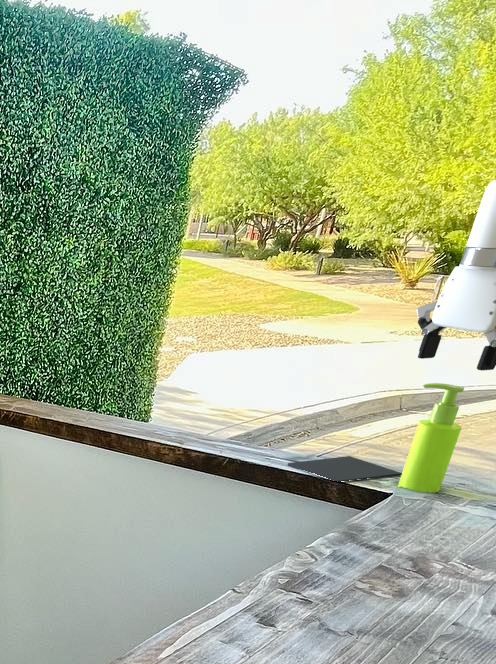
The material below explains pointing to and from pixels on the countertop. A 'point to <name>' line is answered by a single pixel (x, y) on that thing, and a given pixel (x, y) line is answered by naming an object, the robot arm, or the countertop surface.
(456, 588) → the countertop surface
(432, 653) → the countertop surface
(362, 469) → the mat
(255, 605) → the countertop surface
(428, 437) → the soap dispenser
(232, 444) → the countertop surface
